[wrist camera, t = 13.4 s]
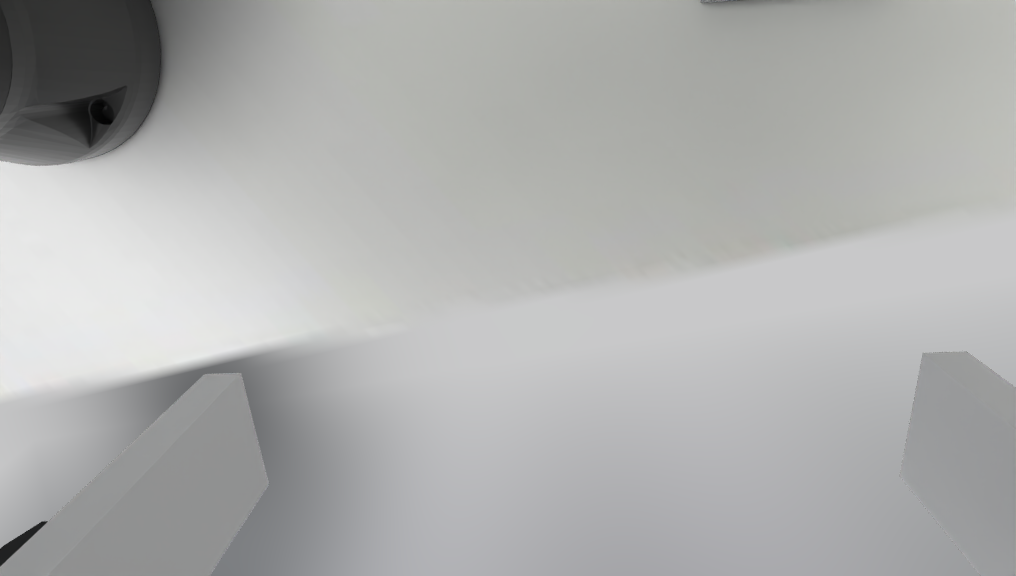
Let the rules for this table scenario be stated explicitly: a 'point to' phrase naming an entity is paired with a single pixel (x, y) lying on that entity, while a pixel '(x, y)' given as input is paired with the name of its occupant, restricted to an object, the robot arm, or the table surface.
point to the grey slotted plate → (704, 0)
